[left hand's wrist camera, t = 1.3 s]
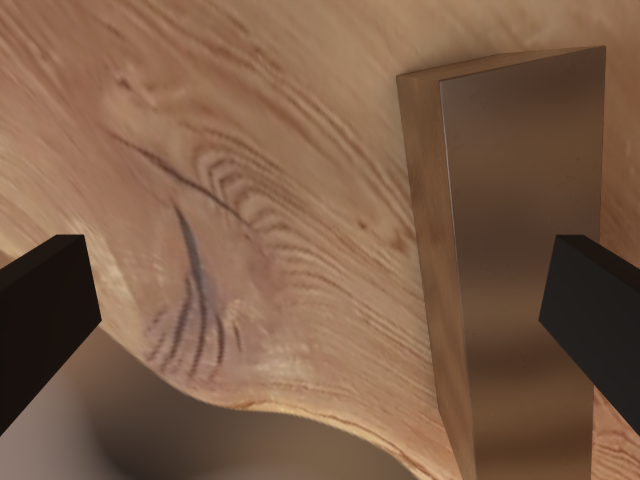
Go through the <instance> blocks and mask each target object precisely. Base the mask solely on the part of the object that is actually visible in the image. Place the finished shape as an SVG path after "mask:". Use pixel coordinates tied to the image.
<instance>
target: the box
mask: <svg viewBox="0 0 640 480" xmlns="http://www.w3.org/2000/svg"><path fill="white" fill-rule="evenodd" d="M605 61H606V46H592V47H580V48H567V49H555V50H543V51H531V52H518V53H506V54H497V55H493V56H488V57H483V58H478V59H474V60H469V61H464V62H460V63H455V64H450V65H445V66H441V67H436V68H431V69H426V70H422V71H417V72H412V73H408V74H403V75H398V76H396V81H397V89H398V97H399V105H400V113H401V120H402V128H403V136H404V144H405V151H406V159H407V167H408V175H409V183H410V190H411V198H412V206H413V214H414V221H415V229H416V237H417V245H418V253H419V260H420V268H421V276H422V284H423V292H424V299H425V307H426V315H427V323H428V330H429V338H430V346H431V354H432V362H433V369H434V377H435V385H436V393H437V400H438V408H439V412H440V415H441V418H442V421H443V424H444V427H445V430H446V433H447V435H448V438H449V441H450V444H451V447H452V450H453V453H454V456H455V458H456V461H457V464H458V467H459V470H460V473H461V476H462V479H463V480H591V458H592V430H593V402H594V384H593V383H592V381H591V380H590V379H589V378H588V377H587V376H586V375H585V373H584V372H583V371H582V370H581V369H580V368H579V367H578V365H577V364H576V363H575V362H574V361H573V360H572V359H571V357H570V356H569V355H568V354H567V353H566V352H565V351H564V349H563V348H562V347H561V346H560V345H559V344H558V343H557V341H556V340H555V339H554V338H553V337H552V336H551V335H550V333H549V332H548V331H547V330H546V329H545V328H544V327H543V325H542V324H541V323H540V322H539V321H538V319H539V314H540V309H541V304H542V299H543V295H544V290H545V285H546V280H547V275H548V270H549V266H550V261H551V256H552V251H553V246H554V242H555V237H556V235H585V236H587V237H588V238H590V239H591V240H593V241H595V242H596V243H598V244H599V231H600V203H601V175H602V146H603V118H604V89H605Z"/></svg>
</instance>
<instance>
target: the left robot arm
mask: <svg viewBox="0 0 640 480" xmlns="http://www.w3.org/2000/svg"><path fill="white" fill-rule="evenodd" d="M101 321H102V319H101V314H100V309H99V304H98V299H97V295H96V290H95V285H94V280H93V275H92V270H91V266H90V261H89V256H88V251H87V246H86V242H85V237H84V235H55V236H53V237H52V238H50V239H49V240H47V241H45V242H44V243H42V244H41V245H39V246H37V247H36V248H34V249H32V250H31V251H29V252H28V253H26V254H24V255H23V256H21V257H20V258H18V259H16V260H15V261H13V262H11V263H10V264H8V265H7V266H5V267H3V268H2V269H0V436H1V435H2V434H3V433H4V432H5V431H6V429H7V428H8V427H9V426H10V425H11V424H12V423H13V421H14V420H15V419H16V418H17V417H18V416H19V415H20V413H21V412H22V411H23V410H24V409H25V408H26V407H27V405H28V404H29V403H30V402H31V401H32V400H33V399H34V397H35V396H36V395H37V394H38V393H39V392H40V391H41V389H42V388H43V387H44V386H45V385H46V384H47V383H48V381H49V380H50V379H51V378H52V377H53V376H54V375H55V373H56V372H57V371H58V370H59V369H60V368H61V367H62V365H63V364H64V363H65V362H66V361H67V360H68V359H69V357H70V356H71V355H72V354H73V353H74V352H75V351H76V349H77V348H78V347H79V346H80V345H81V344H82V343H83V341H84V340H85V339H86V338H87V337H88V336H89V335H90V333H91V332H92V331H93V330H94V329H95V328H96V327H97V325H98V324H99V323H100V322H101ZM538 321H539V322H540V323H541V324H542V325H543V327H544V328H545V329H546V330H547V331H548V332H549V333H550V335H551V336H552V337H553V338H554V339H555V340H556V341H557V343H558V344H559V345H560V346H561V347H562V348H563V349H564V351H565V352H566V353H567V354H568V355H569V356H570V357H571V359H572V360H573V361H574V362H575V363H576V364H577V365H578V367H579V368H580V369H581V370H582V371H583V372H584V373H585V375H586V376H587V377H588V378H589V379H590V380H591V381H592V383H593V384H594V385H595V386H596V387H597V388H598V389H599V391H600V392H601V393H602V394H603V395H604V396H605V397H606V399H607V400H608V401H609V402H610V403H611V404H612V405H613V407H614V408H615V409H616V410H617V411H618V412H619V413H620V415H621V416H622V417H623V418H624V419H625V420H626V421H627V423H628V424H629V425H630V426H631V427H632V428H633V429H634V431H635V432H636V433H637V434H638V435H639V436H640V269H638V268H637V267H635V266H633V265H632V264H630V263H629V262H627V261H625V260H624V259H622V258H620V257H619V256H617V255H616V254H614V253H612V252H611V251H609V250H608V249H606V248H604V247H603V246H601V245H599V244H598V243H596V242H595V241H593V240H591V239H590V238H588V237H587V236H585V235H556V237H555V242H554V246H553V251H552V256H551V261H550V266H549V270H548V275H547V280H546V285H545V290H544V295H543V299H542V304H541V309H540V314H539V319H538Z"/></svg>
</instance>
